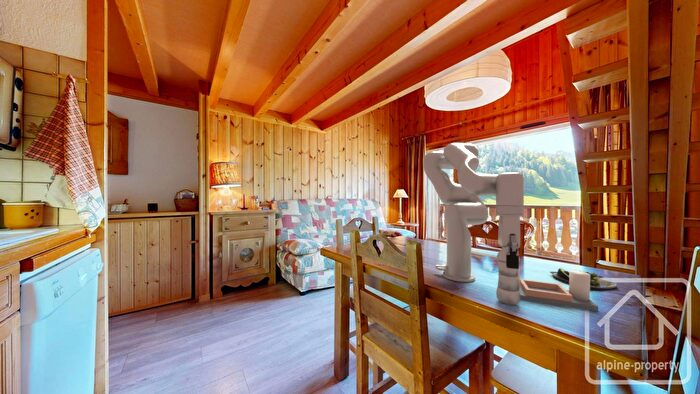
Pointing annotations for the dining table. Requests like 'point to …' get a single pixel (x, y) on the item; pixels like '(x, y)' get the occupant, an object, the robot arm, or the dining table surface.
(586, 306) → the twin post tray
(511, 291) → the plastic bottle
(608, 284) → the salad plate
